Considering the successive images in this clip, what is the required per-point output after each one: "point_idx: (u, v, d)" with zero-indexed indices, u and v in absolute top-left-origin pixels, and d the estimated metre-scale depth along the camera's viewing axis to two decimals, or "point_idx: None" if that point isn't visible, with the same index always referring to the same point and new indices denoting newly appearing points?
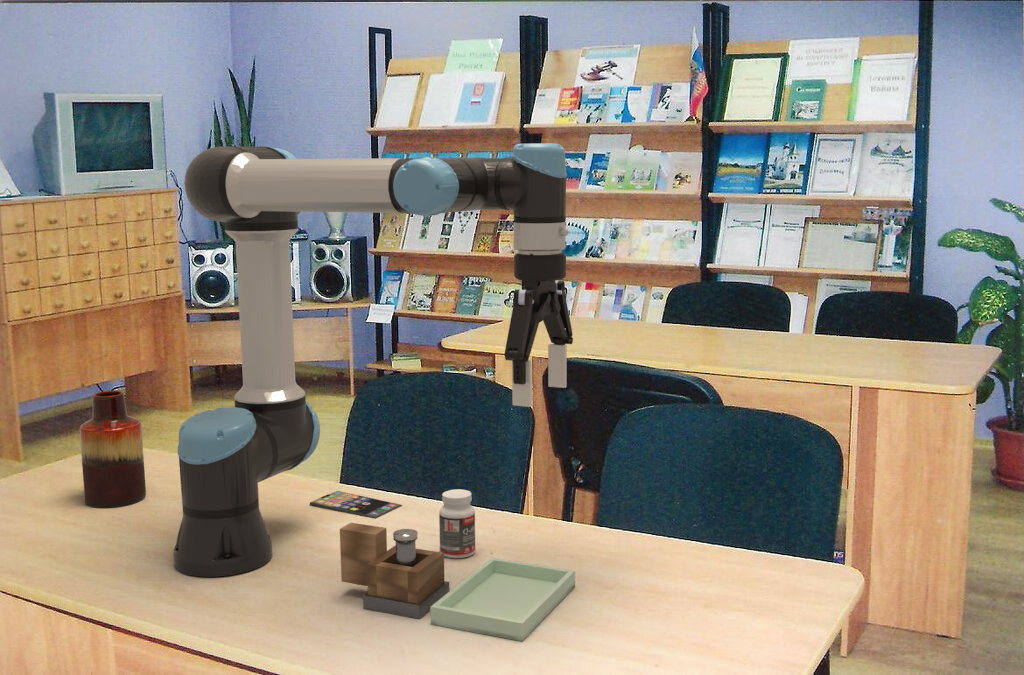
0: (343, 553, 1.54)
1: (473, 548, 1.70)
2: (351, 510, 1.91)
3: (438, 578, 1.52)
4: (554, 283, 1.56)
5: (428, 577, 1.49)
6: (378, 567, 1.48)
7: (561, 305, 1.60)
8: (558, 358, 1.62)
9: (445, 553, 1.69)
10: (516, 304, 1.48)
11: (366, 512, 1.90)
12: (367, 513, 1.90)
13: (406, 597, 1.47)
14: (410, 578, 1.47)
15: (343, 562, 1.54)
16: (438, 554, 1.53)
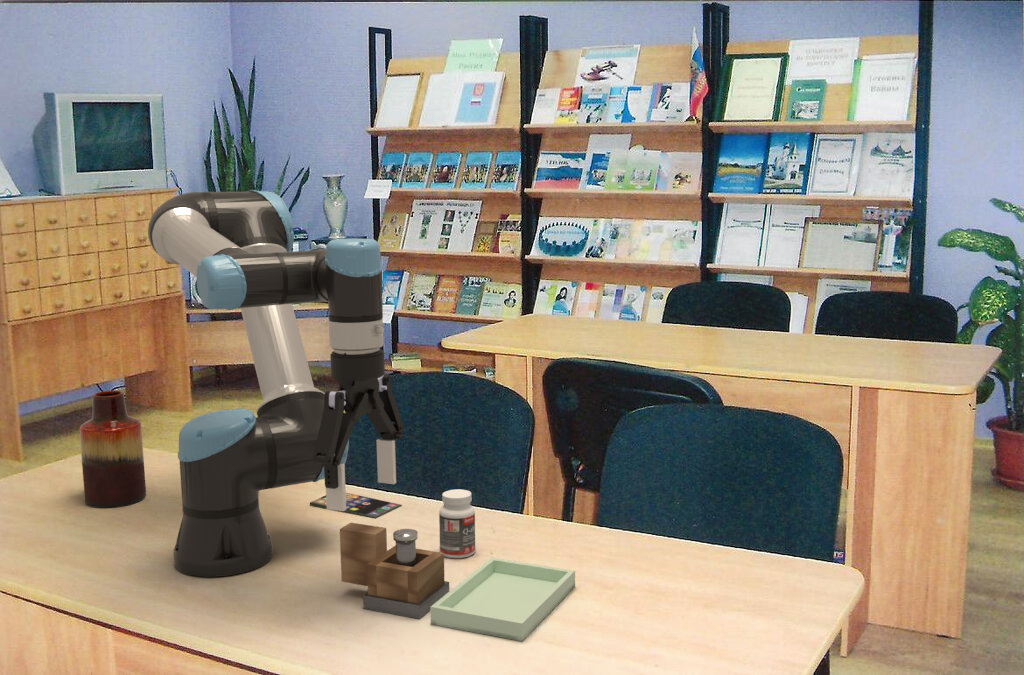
0: (343, 553, 1.54)
1: (473, 548, 1.70)
2: (351, 510, 1.91)
3: (438, 578, 1.52)
4: (375, 380, 1.52)
5: (428, 577, 1.49)
6: (378, 567, 1.48)
7: (387, 400, 1.56)
8: (386, 454, 1.57)
9: (445, 553, 1.69)
10: (327, 406, 1.44)
11: (366, 512, 1.90)
12: (367, 513, 1.90)
13: (406, 597, 1.47)
14: (410, 578, 1.47)
15: (343, 562, 1.54)
16: (438, 554, 1.53)
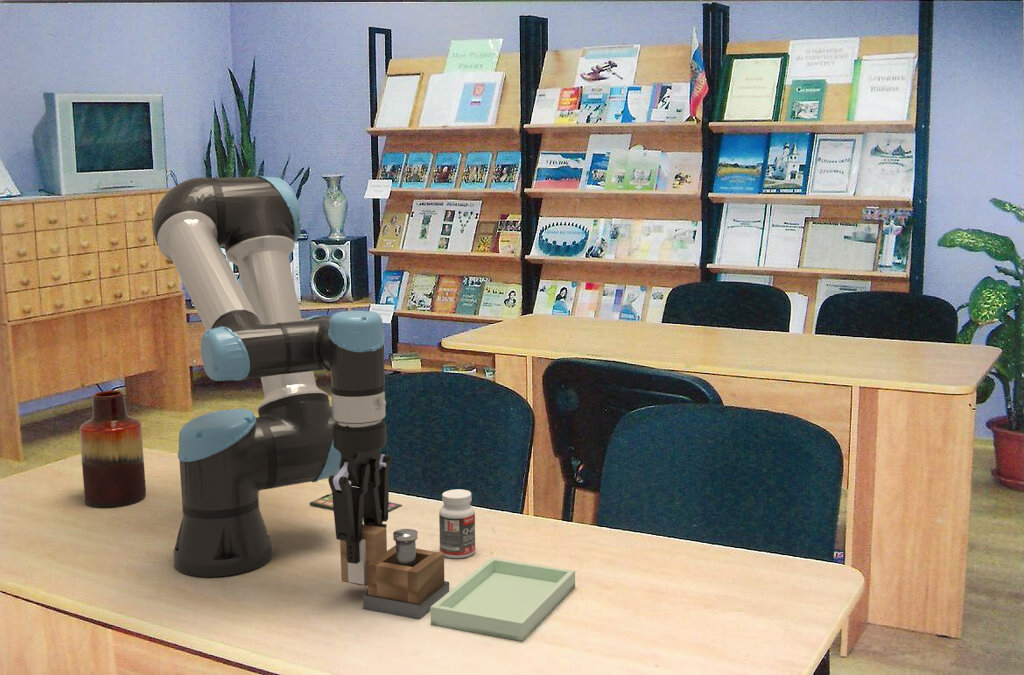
0: (343, 553, 1.54)
1: (473, 548, 1.70)
2: None
3: (438, 578, 1.52)
4: None
5: (428, 577, 1.49)
6: (378, 567, 1.48)
7: (382, 480, 1.56)
8: None
9: (445, 553, 1.69)
10: (334, 490, 1.47)
11: None
12: None
13: (406, 597, 1.47)
14: (410, 578, 1.47)
15: (343, 562, 1.54)
16: (438, 554, 1.53)
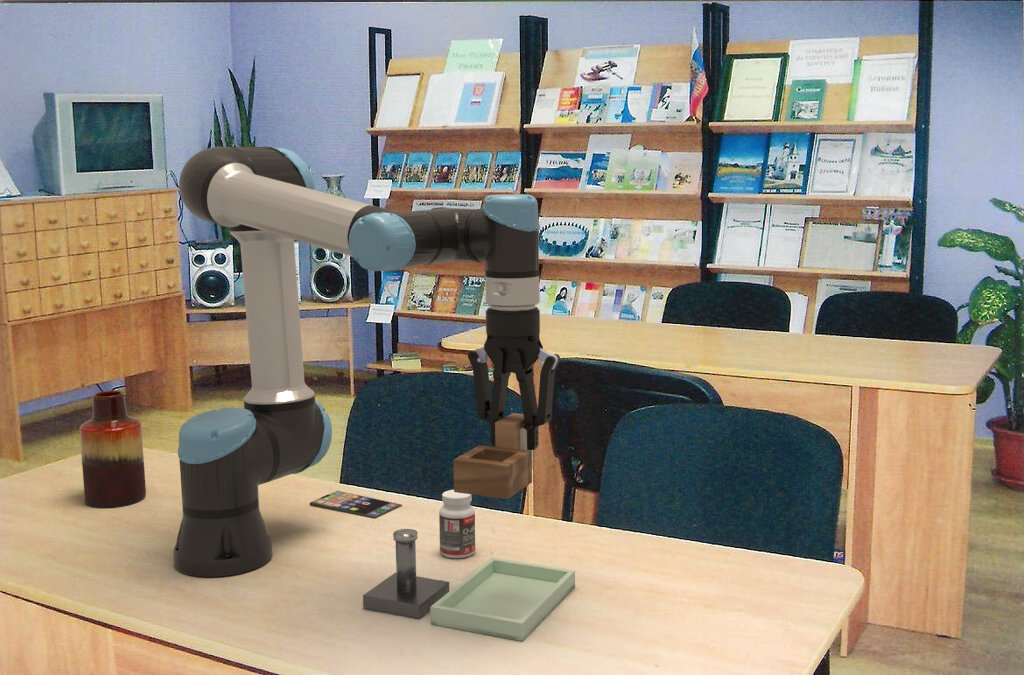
0: None
1: (473, 548, 1.70)
2: (351, 510, 1.91)
3: (494, 487, 1.40)
4: (532, 343, 1.46)
5: (476, 477, 1.41)
6: None
7: None
8: None
9: (445, 553, 1.69)
10: None
11: (366, 512, 1.90)
12: (367, 513, 1.90)
13: None
14: None
15: None
16: (503, 464, 1.40)
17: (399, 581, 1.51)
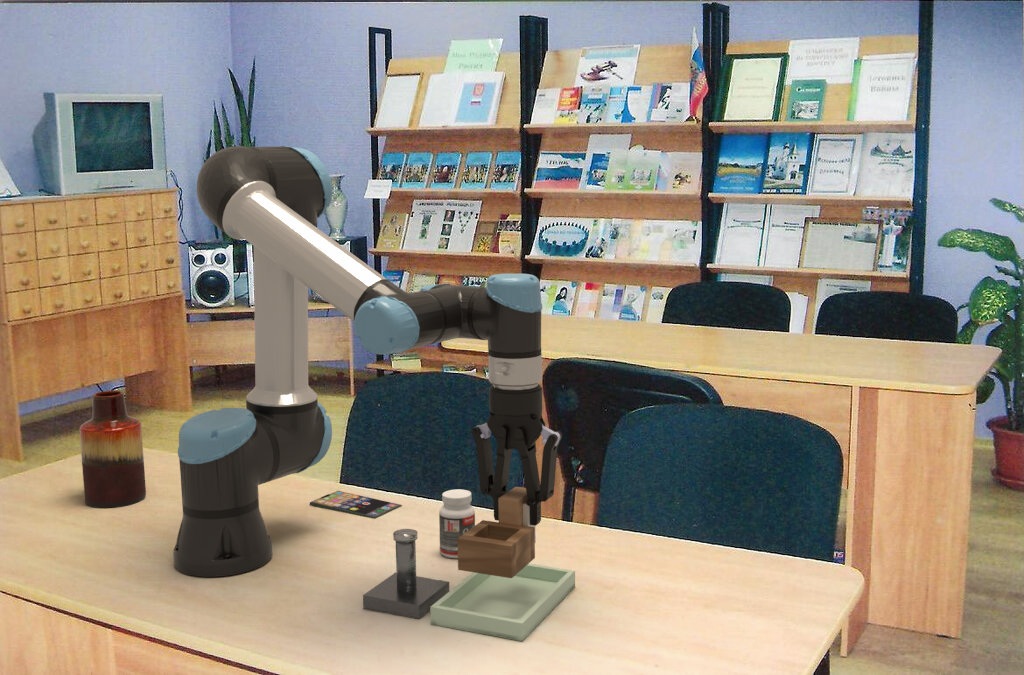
0: None
1: None
2: (351, 510, 1.91)
3: (498, 566, 1.42)
4: (535, 421, 1.48)
5: (479, 555, 1.43)
6: None
7: (543, 457, 1.48)
8: None
9: (445, 553, 1.69)
10: None
11: (366, 512, 1.90)
12: (367, 513, 1.90)
13: None
14: None
15: None
16: (506, 544, 1.42)
17: (399, 581, 1.51)
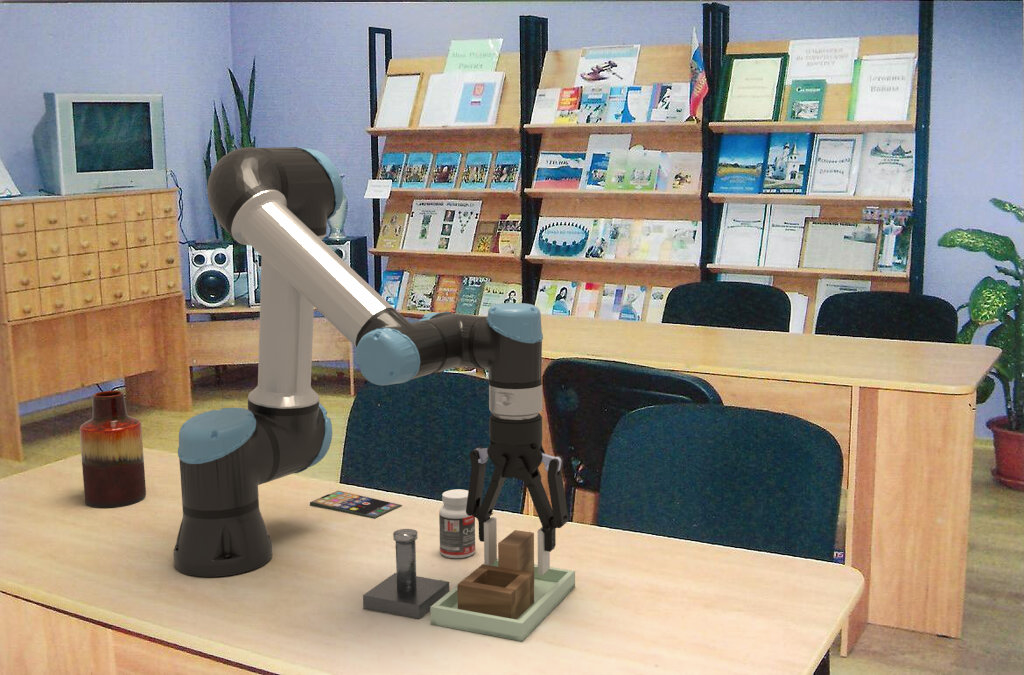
0: None
1: (473, 548, 1.70)
2: (351, 510, 1.91)
3: (497, 613, 1.43)
4: (533, 450, 1.49)
5: (479, 602, 1.44)
6: None
7: None
8: None
9: (445, 553, 1.69)
10: None
11: (366, 512, 1.90)
12: (367, 513, 1.90)
13: None
14: None
15: None
16: (506, 591, 1.43)
17: (399, 581, 1.51)
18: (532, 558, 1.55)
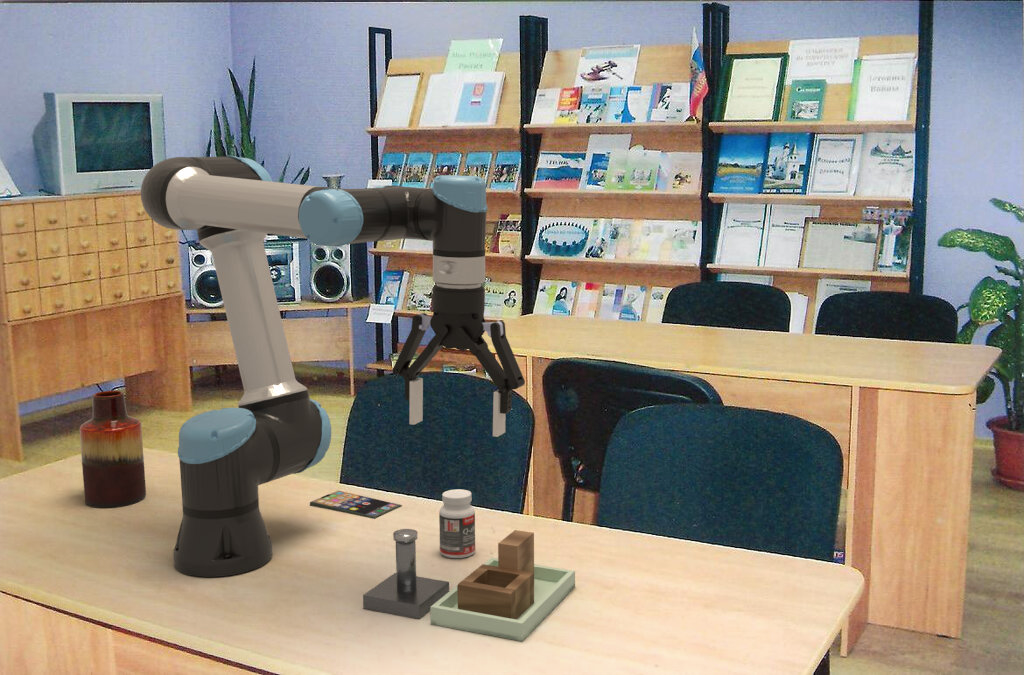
0: None
1: (473, 548, 1.70)
2: (351, 510, 1.91)
3: (497, 613, 1.43)
4: (473, 321, 1.51)
5: (479, 602, 1.44)
6: None
7: None
8: None
9: (445, 553, 1.69)
10: None
11: (365, 512, 1.90)
12: (366, 513, 1.90)
13: None
14: None
15: None
16: (506, 591, 1.43)
17: (399, 581, 1.51)
18: (532, 558, 1.55)
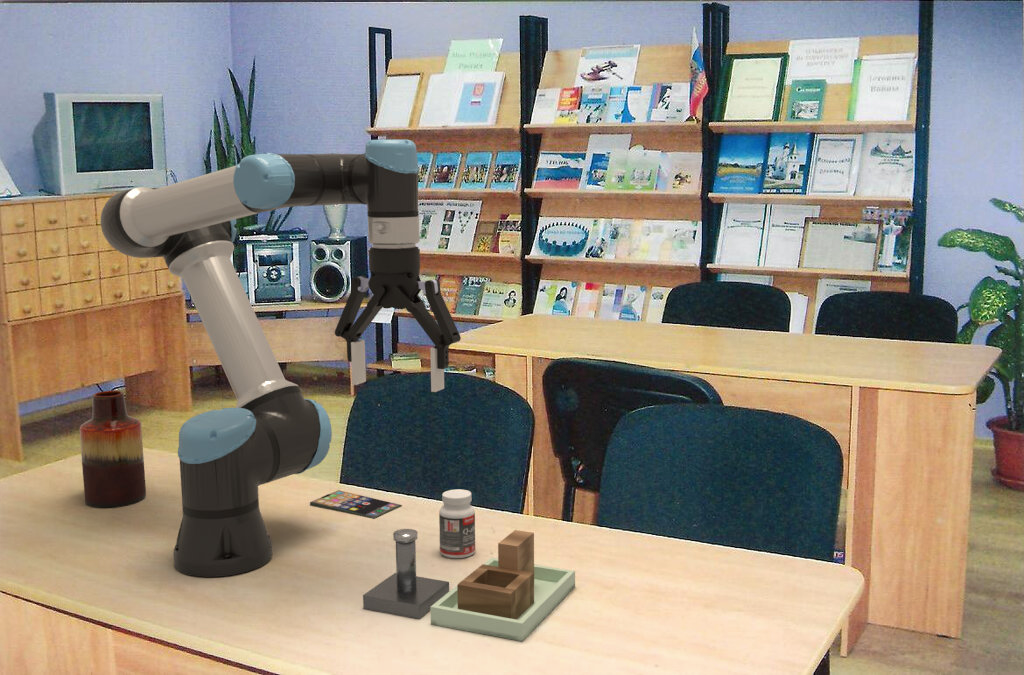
0: None
1: (473, 548, 1.70)
2: (351, 510, 1.91)
3: (497, 613, 1.43)
4: (408, 279, 1.55)
5: (479, 602, 1.44)
6: None
7: None
8: None
9: (445, 553, 1.69)
10: None
11: (365, 512, 1.90)
12: (366, 513, 1.90)
13: None
14: None
15: None
16: (506, 591, 1.43)
17: (399, 581, 1.51)
18: (532, 558, 1.55)
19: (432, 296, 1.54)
